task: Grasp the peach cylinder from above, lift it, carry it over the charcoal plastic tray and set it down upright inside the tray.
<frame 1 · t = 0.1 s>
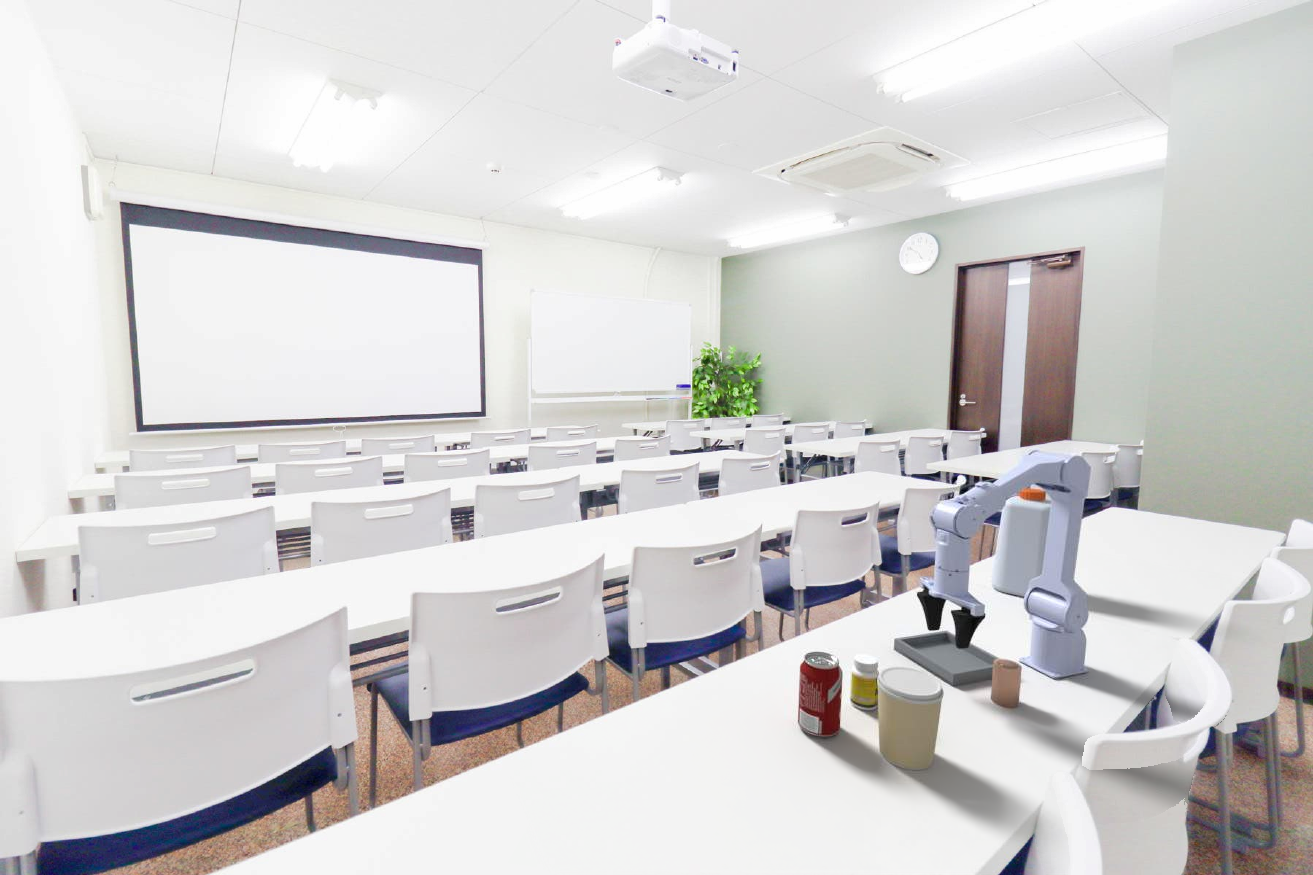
hand: (947, 638, 111), 10 cm above the table, tool pointing down, fingers open, 7 cm apart
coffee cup: (905, 755, 93), on the table
supplement bottle: (863, 704, 107), on the table
soda can: (818, 729, 99), on the table
tray: (948, 661, 123), on the table
plastic bottle: (1024, 590, 165), on the table
peach cylinder: (1004, 701, 108), on the table
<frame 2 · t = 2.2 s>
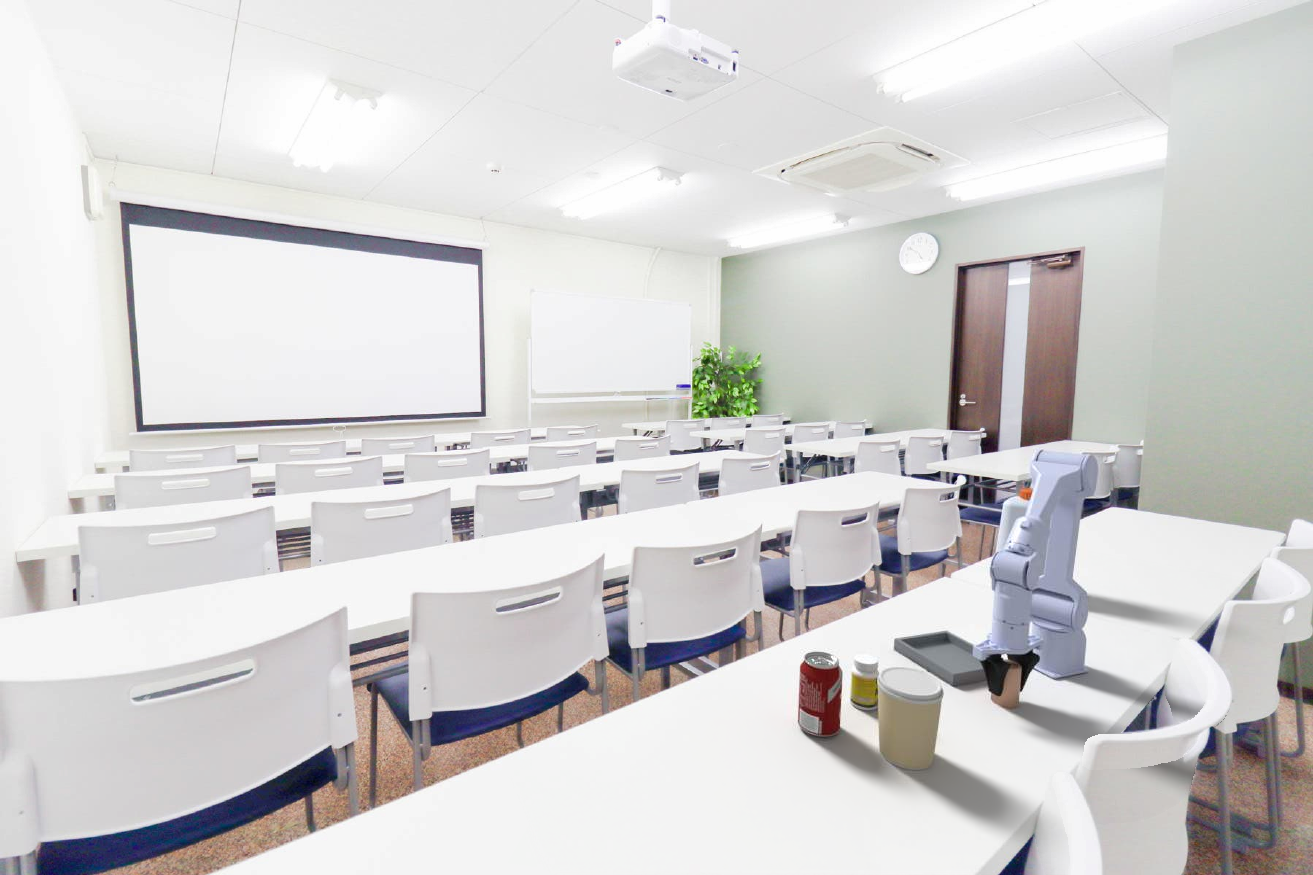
hand: (1005, 691, 108), 2 cm above the table, tool pointing down, fingers closed on peach cylinder, 4 cm apart
peach cylinder: (1004, 701, 108), on the table, touching gripper
everything else where it was.
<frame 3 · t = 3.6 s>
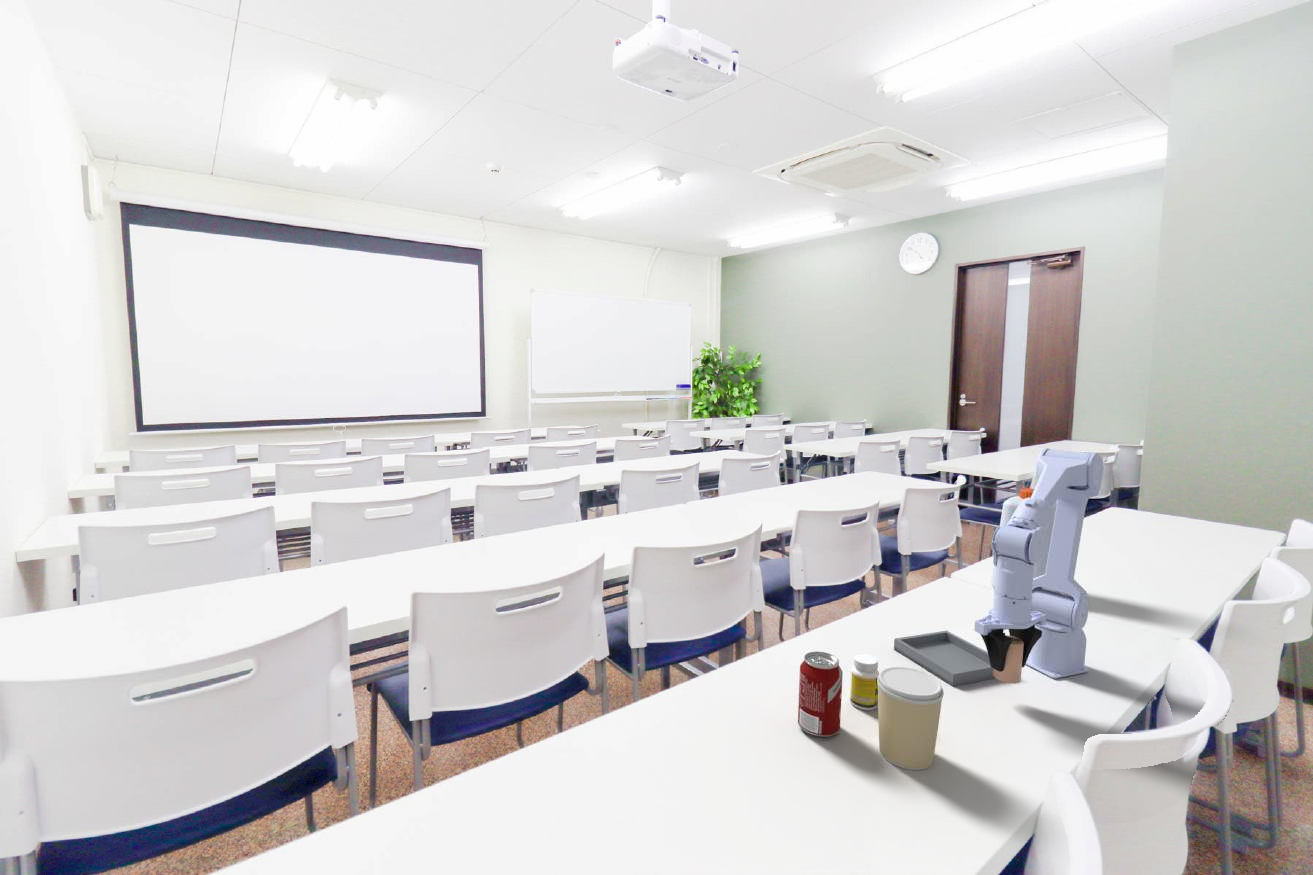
hand: (1007, 666, 108), 7 cm above the table, tool pointing down, fingers closed on peach cylinder, 4 cm apart
peach cylinder: (1006, 677, 108), point 5 cm above the table, touching gripper
everything else where it was.
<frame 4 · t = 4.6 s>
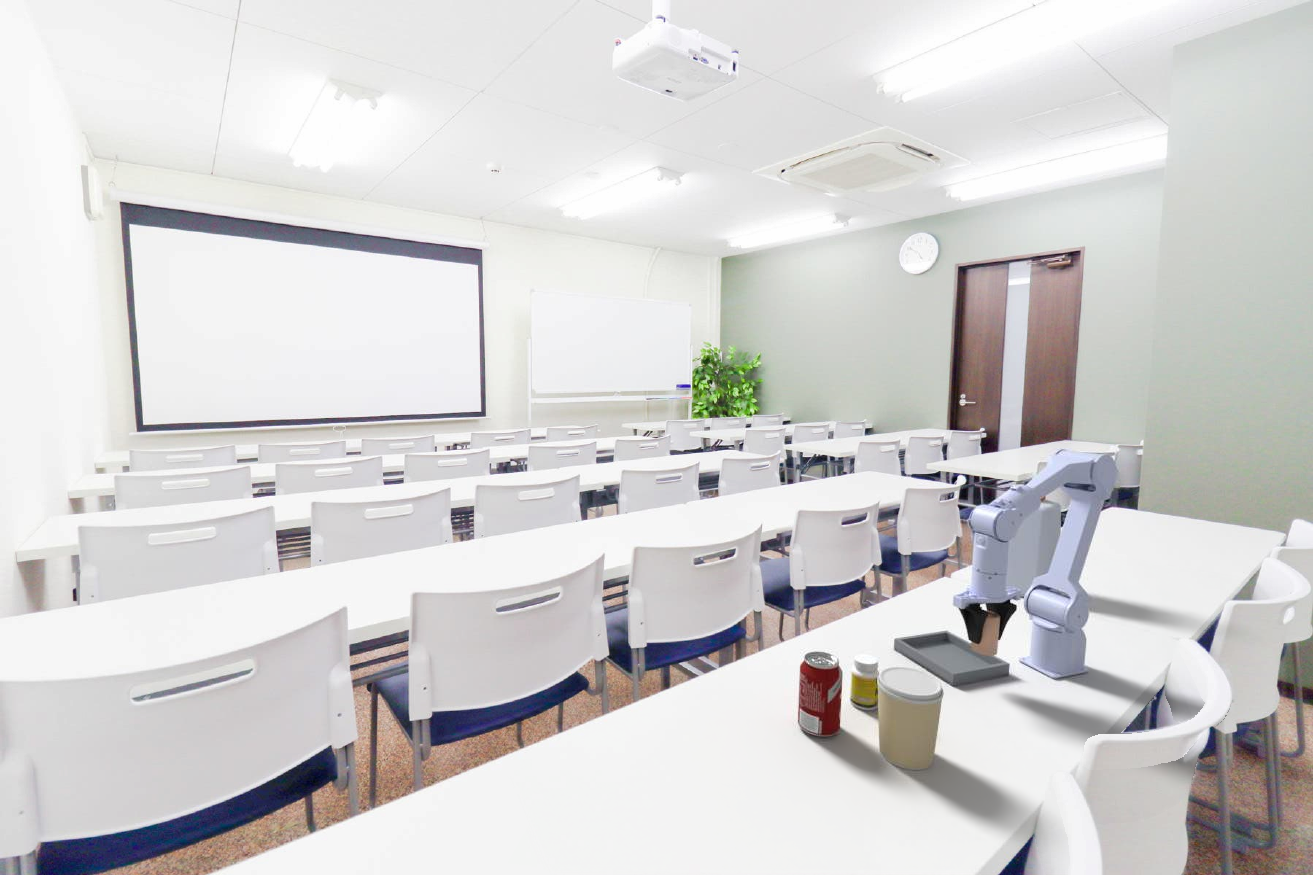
hand: (984, 639, 113), 9 cm above the table, tool pointing down, fingers closed on peach cylinder, 4 cm apart
peach cylinder: (983, 649, 113), point 7 cm above the table, touching gripper
everything else where it was.
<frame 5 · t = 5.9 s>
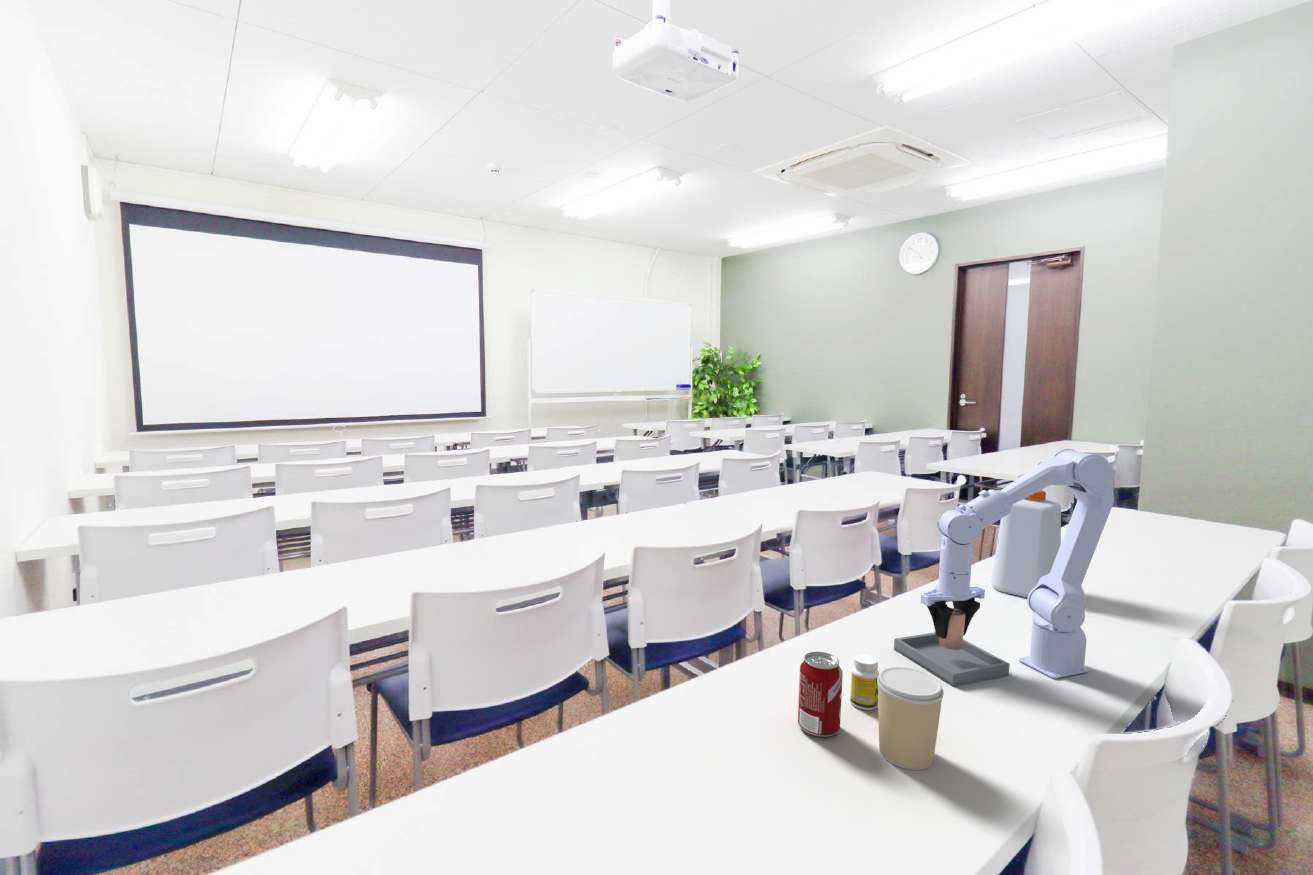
hand: (950, 634, 123), 6 cm above the table, tool pointing down, fingers closed on peach cylinder, 4 cm apart
peach cylinder: (950, 644, 123), point 4 cm above the table, touching gripper
everything else where it was.
when the fingers open (4 cm above the table, at t = 7.1 s): peach cylinder drops 1 cm, resting on tray.
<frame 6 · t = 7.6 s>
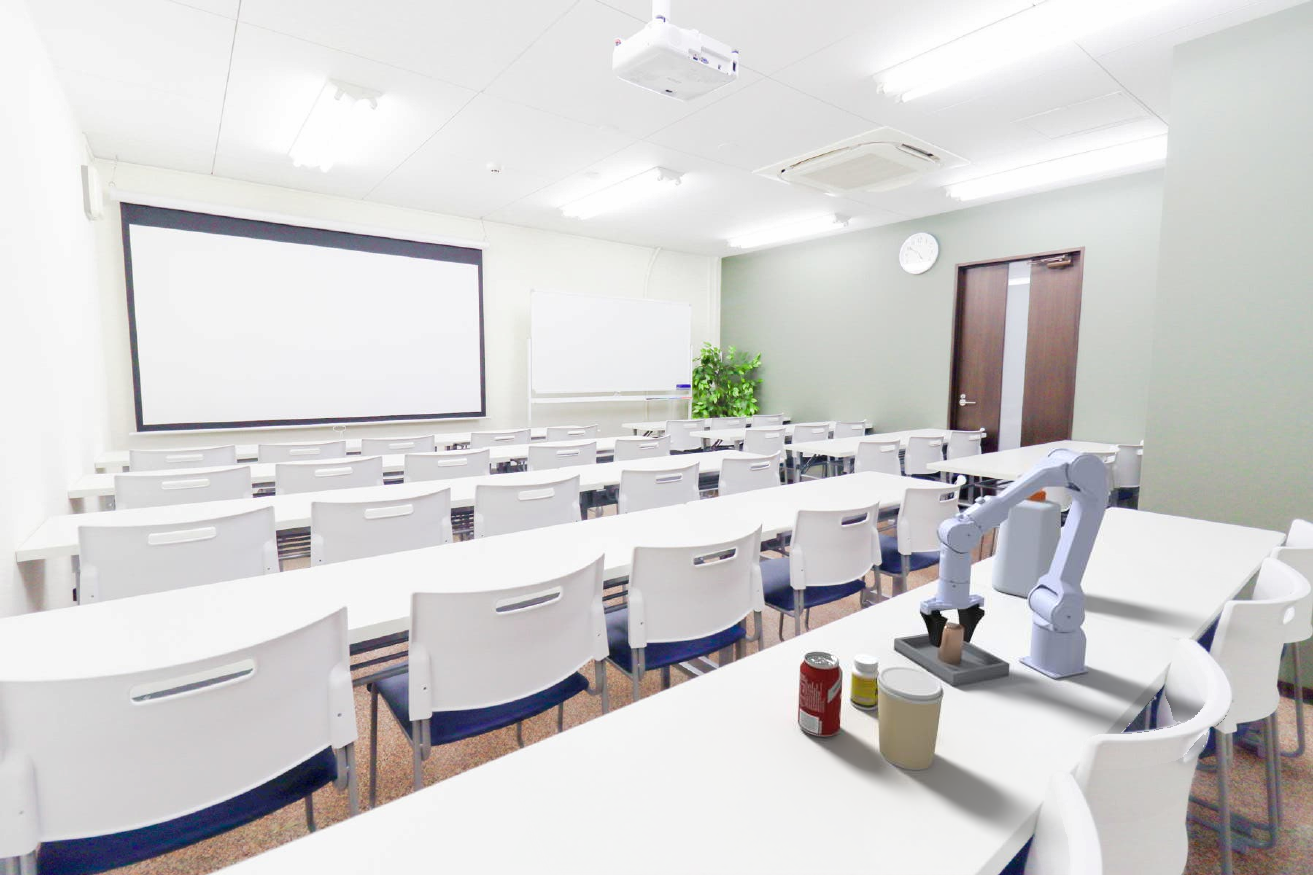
hand: (950, 643, 123), 4 cm above the table, tool pointing down, fingers open, 7 cm apart
peach cylinder: (949, 659, 123), point 1 cm above the table, touching tray
everything else where it was.
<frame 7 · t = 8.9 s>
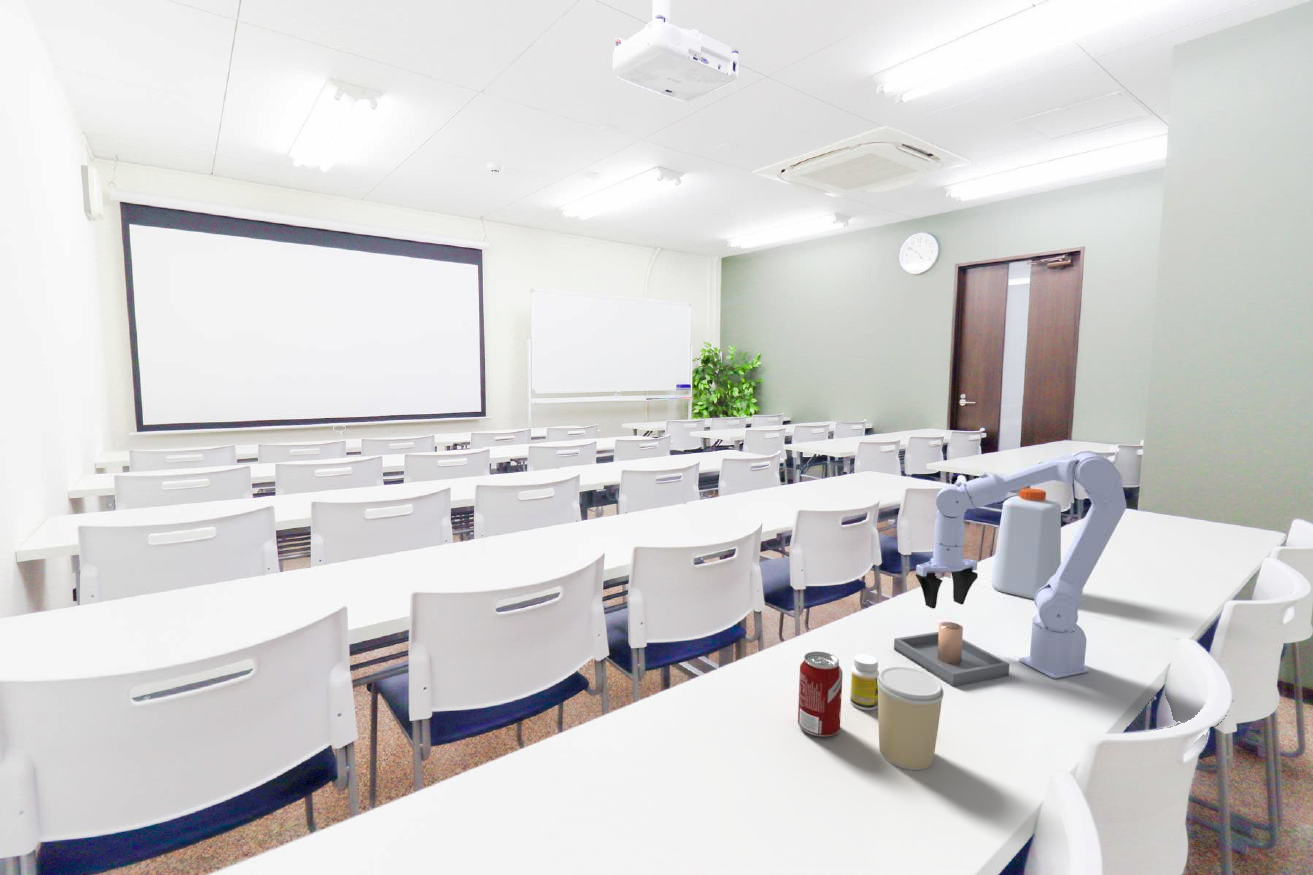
hand: (944, 604, 129), 9 cm above the table, tool pointing down, fingers open, 7 cm apart
nothing on the table moved.
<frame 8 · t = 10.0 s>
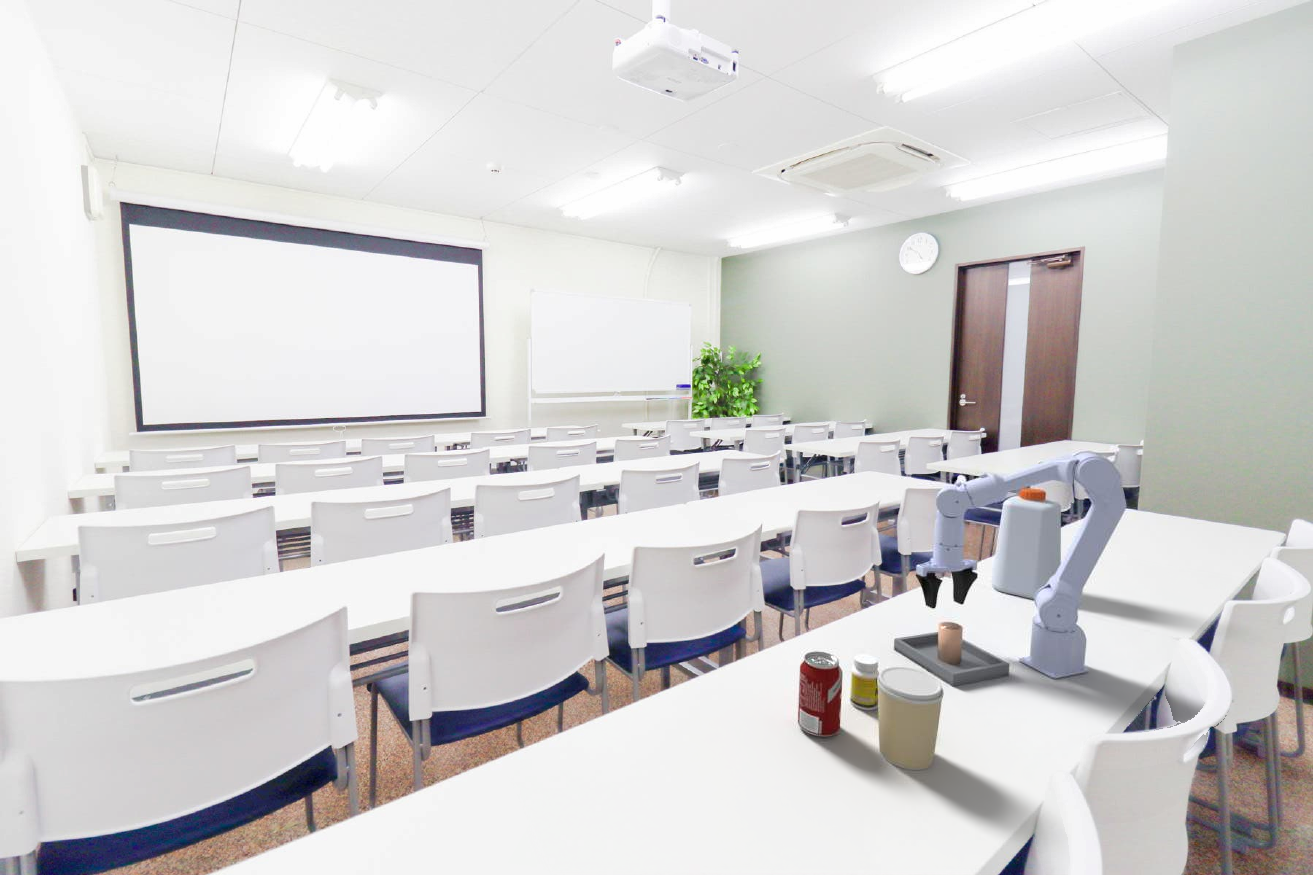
hand: (944, 604, 129), 9 cm above the table, tool pointing down, fingers open, 7 cm apart
nothing on the table moved.
at the end: peach cylinder inside the target area on the tray (0.1 cm from its centre), point 0.7 cm above the tray's base; peach cylinder tilted 2°; the gripper is holding nothing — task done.
